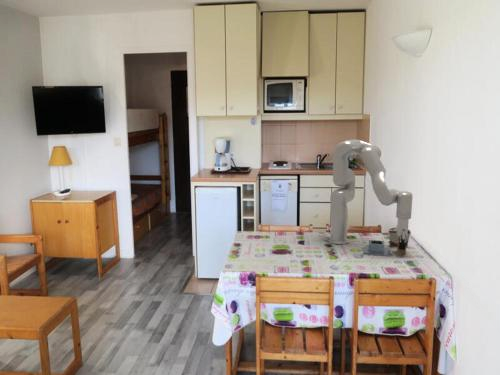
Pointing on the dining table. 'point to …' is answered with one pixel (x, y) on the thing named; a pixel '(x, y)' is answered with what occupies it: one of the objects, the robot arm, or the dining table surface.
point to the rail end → (399, 252)
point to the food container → (396, 237)
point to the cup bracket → (376, 248)
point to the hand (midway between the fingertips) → (401, 247)
